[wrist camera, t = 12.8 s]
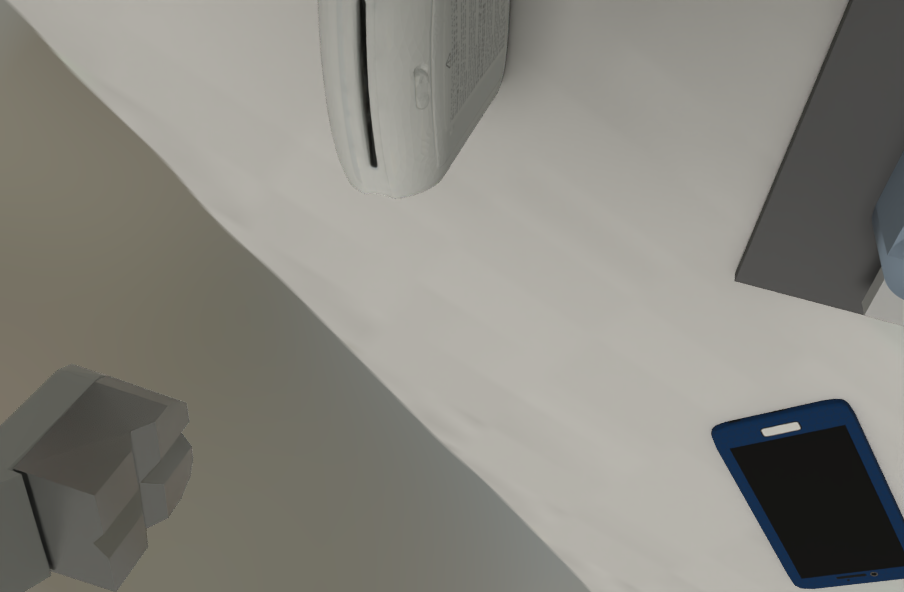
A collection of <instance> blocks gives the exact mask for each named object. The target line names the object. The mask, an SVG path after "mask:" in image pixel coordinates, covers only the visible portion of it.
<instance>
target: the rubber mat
mask: <svg viewBox="0 0 904 592" xmlns="http://www.w3.org/2000/svg"><path fill="white" fill-rule="evenodd" d="M903 151H904V0H850V1H849V3H848V6H847V8H846V11H845V13H844V15H843V18H842V20H841V22H840V25H839V27H838V30H837V32H836V34H835V37H834V39H833V42H832V44H831V46H830V49H829V51H828V54H827V56H826V58H825V61H824V63H823V65H822V68H821V70H820V73H819V75H818V77H817V80H816V82H815V85H814V87H813V89H812V92H811V94H810V96H809V99H808V101H807V104H806V106H805V108H804V111H803V113H802V116H801V118H800V120H799V123H798V125H797V128H796V130H795V132H794V135H793V137H792V139H791V142H790V144H789V147H788V149H787V151H786V154H785V156H784V159H783V161H782V163H781V166H780V168H779V170H778V173H777V175H776V178H775V180H774V182H773V185H772V187H771V190H770V192H769V194H768V197H767V199H766V202H765V204H764V206H763V209H762V211H761V213H760V216H759V218H758V221H757V223H756V225H755V228H754V230H753V233H752V235H751V237H750V240H749V242H748V244H747V247H746V249H745V252H744V254H743V256H742V259H741V261H740V264H739V266H738V268H737V271H736V273H735V281H737V282H740V283H744V284H748V285H752V286H755V287H759V288H763V289H767V290H771V291H774V292H778V293H782V294H786V295H790V296H793V297H797V298H801V299H805V300H809V301H812V302H816V303H820V304H824V305H828V306H831V307H835V308H839V309H843V310H847V311H850V312H854V313H858V314H862V315H864V312H863V307H862V301H863V299H864V297H865V295H866V294H867V292H868V290H869V288H870V286H871V285H872V283H873V281H874V279H875V277H876V275H877V274H878V272H879V270H880V268H881V262H880V257H879V253H878V248H877V244H876V239H875V235H874V230H873V226H872V214H873V210H874V208H875V205H876V204H877V202H878V200H879V198H880V196H881V194H882V192H883V190H884V188H885V186H886V184H887V182H888V180H889V178H890V176H891V174H892V173H893V171H894V169H895V167H896V165H897V163H898V161H899V159H900V157H901V155H902V153H903Z"/></svg>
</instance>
